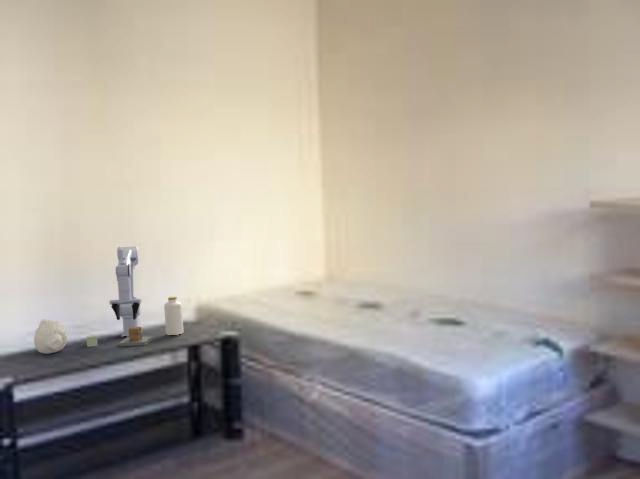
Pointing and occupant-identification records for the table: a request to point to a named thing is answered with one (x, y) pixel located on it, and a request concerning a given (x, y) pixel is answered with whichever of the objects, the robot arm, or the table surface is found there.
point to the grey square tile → (136, 343)
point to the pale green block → (91, 340)
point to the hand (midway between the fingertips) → (126, 319)
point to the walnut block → (135, 334)
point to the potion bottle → (173, 317)
